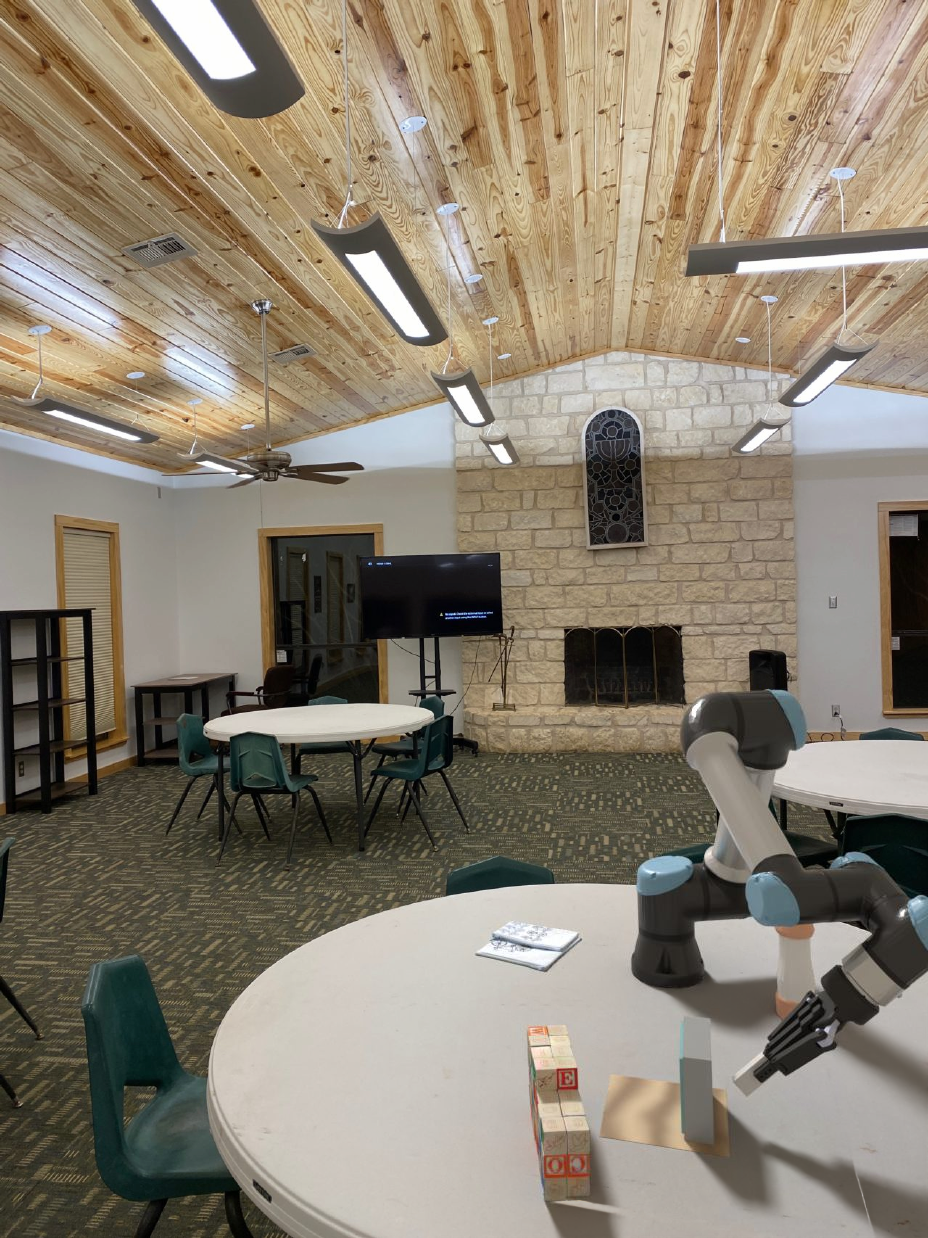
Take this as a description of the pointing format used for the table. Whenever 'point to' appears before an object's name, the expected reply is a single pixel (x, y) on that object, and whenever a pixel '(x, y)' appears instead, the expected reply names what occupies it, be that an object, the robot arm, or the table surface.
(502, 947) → the folded white cloth
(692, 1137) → the block
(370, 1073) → the table surface
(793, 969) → the salt shaker
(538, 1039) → the stack of blocks
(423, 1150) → the table surface
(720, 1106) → the mat
